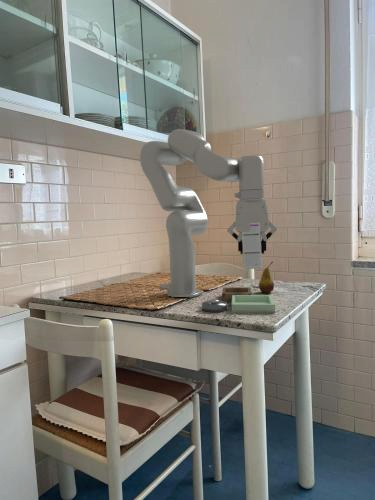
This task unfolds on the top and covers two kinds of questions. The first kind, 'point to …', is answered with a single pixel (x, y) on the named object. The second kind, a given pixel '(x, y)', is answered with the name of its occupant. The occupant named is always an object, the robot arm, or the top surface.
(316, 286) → the top surface
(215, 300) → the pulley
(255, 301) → the tray
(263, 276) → the fruit
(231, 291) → the collar
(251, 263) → the syrup box
